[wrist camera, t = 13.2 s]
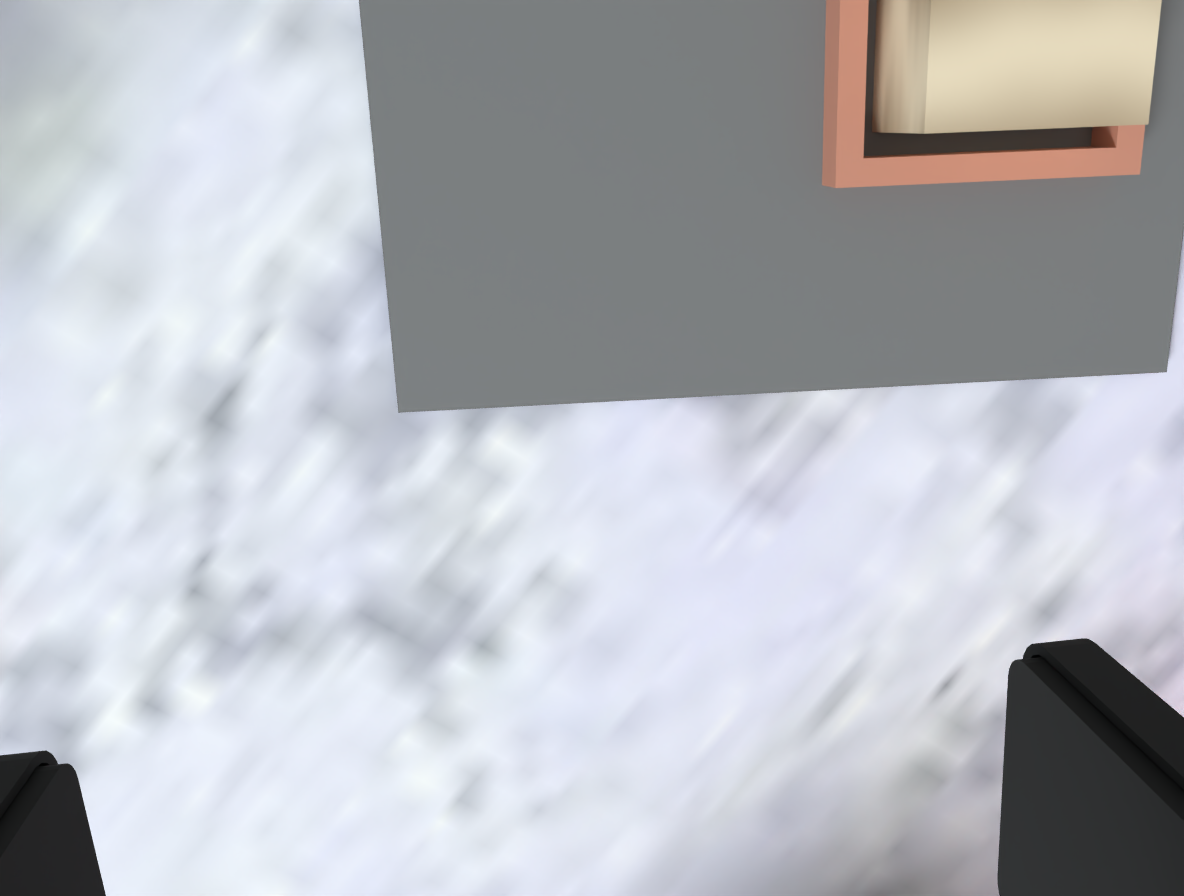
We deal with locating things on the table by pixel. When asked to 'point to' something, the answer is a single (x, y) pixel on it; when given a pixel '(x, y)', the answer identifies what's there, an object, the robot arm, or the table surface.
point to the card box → (1012, 64)
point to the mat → (740, 211)
